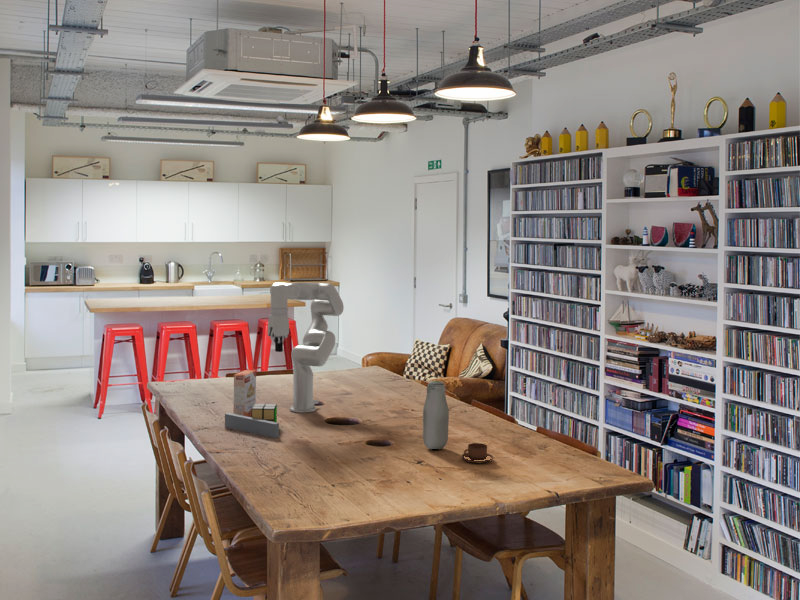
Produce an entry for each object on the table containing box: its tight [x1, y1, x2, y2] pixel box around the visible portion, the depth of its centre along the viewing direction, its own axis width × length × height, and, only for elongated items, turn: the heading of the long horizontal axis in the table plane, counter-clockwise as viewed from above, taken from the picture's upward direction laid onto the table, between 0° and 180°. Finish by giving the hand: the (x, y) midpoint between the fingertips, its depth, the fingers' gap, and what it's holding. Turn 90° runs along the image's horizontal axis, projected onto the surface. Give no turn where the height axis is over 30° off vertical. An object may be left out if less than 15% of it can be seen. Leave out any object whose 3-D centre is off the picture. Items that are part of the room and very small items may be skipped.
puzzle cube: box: [250, 403, 278, 423], centre depth 363 cm, size 10×10×10 cm
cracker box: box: [232, 369, 257, 417], centre depth 384 cm, size 14×6×21 cm, turn 168°
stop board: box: [224, 412, 280, 439], centre depth 356 cm, size 2×30×6 cm, turn 55°
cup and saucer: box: [461, 442, 494, 463], centre depth 319 cm, size 12×12×6 cm
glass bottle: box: [422, 380, 450, 450], centre depth 333 cm, size 10×10×28 cm
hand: (278, 351), depth 377 cm, fingers closed
